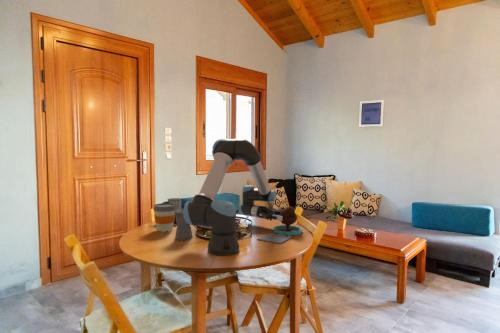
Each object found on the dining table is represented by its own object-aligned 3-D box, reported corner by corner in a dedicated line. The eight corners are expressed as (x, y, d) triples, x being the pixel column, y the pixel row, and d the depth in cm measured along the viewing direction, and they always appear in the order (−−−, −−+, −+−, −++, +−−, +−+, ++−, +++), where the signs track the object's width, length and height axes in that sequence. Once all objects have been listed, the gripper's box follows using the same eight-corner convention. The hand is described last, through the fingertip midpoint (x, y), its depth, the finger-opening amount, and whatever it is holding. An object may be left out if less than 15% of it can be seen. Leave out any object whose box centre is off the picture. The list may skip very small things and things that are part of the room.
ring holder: (295, 237, 183) (295, 233, 183) (269, 232, 191) (269, 229, 191) (305, 230, 197) (305, 227, 197) (281, 227, 205) (281, 223, 205)
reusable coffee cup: (150, 232, 190) (149, 206, 189) (158, 227, 203) (158, 202, 202) (171, 233, 189) (171, 207, 188) (178, 228, 201) (178, 203, 200)
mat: (281, 244, 170) (281, 242, 170) (257, 240, 177) (257, 238, 177) (292, 237, 182) (292, 236, 182) (269, 234, 189) (269, 232, 189)
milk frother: (176, 219, 225) (176, 197, 224) (190, 223, 214) (190, 200, 213) (158, 222, 215) (157, 199, 214) (171, 226, 204) (171, 203, 203)
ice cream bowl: (296, 229, 199) (296, 204, 198) (297, 234, 188) (297, 208, 187) (278, 229, 200) (279, 204, 199) (278, 234, 189) (278, 207, 188)
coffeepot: (181, 242, 171) (181, 208, 170) (168, 239, 176) (168, 206, 175) (201, 236, 184) (201, 203, 183) (188, 233, 189) (188, 202, 188)
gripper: (271, 214, 217) (299, 219, 204) (246, 221, 198) (276, 227, 185) (271, 203, 217) (300, 207, 203) (247, 208, 198) (276, 213, 184)
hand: (288, 216), depth 194 cm, fingers open, 13 cm apart
